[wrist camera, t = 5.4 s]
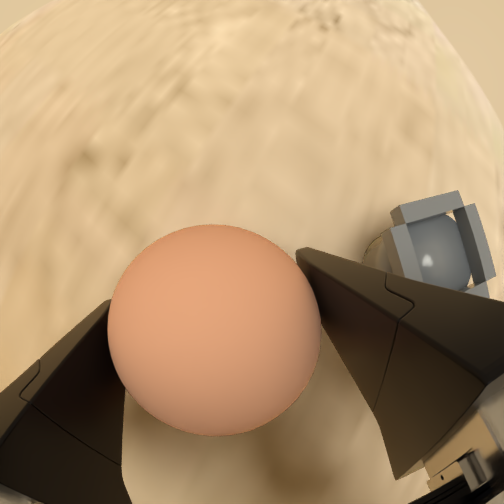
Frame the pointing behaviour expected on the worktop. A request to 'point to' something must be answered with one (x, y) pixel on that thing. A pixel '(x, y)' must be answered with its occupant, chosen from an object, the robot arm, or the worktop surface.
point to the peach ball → (214, 330)
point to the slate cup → (435, 245)
